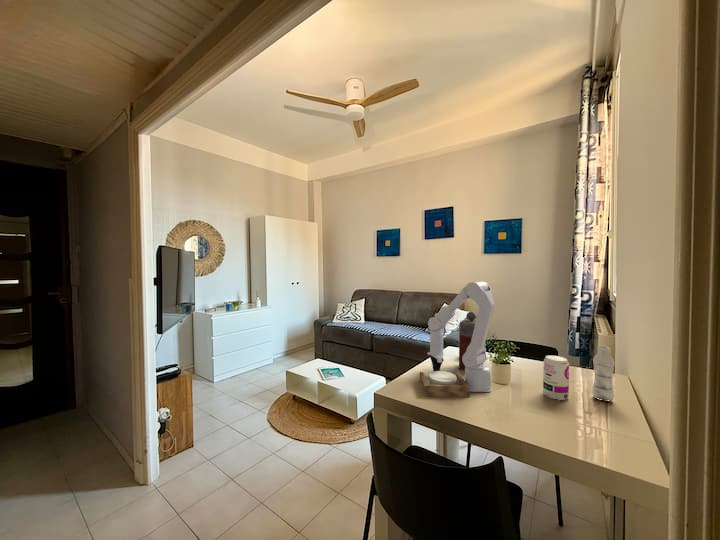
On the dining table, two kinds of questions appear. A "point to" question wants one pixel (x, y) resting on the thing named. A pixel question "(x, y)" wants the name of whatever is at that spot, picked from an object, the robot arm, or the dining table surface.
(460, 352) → the dark red bottle
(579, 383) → the dining table surface
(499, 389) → the dining table surface
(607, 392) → the plastic bottle
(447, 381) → the ramekin
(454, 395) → the shallow wooden tray
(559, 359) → the supplement can
